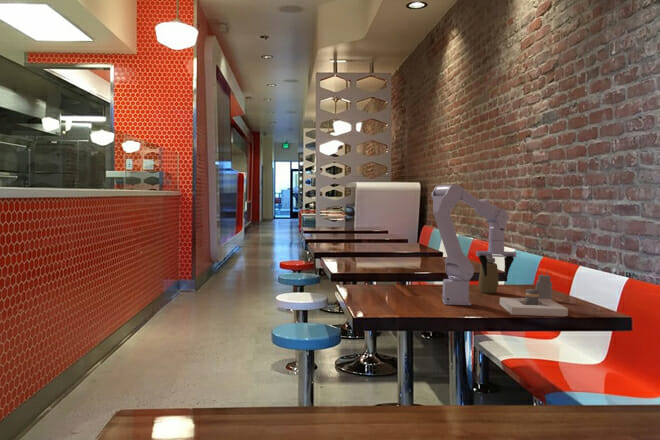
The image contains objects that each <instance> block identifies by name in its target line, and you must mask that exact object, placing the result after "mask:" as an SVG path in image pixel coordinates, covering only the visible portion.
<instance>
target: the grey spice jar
mask: <svg viewBox="0 0 660 440" xmlns="http://www.w3.org/2000/svg"><path fill="white" fill-rule="evenodd" d="M538 297H539V293H538V290H536V289H532V288H531V289H530V288H529V289H528V288H526V289H525V298H526V305H538Z"/></svg>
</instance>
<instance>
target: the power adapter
mask: <svg viewBox="0 0 660 440" xmlns="http://www.w3.org/2000/svg"><path fill="white" fill-rule="evenodd" d="M537 278H538V279H537V281H535V283H536V284H535V286H536V287H535V290H538V293H539V297H538V299H551V300H552V298H553V297H552V296H553V295H552V294H553V282H552V281H551V275H548V271H546V275H545V274H543V272H541V274H538V277H537Z"/></svg>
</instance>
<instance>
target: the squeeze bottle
mask: <svg viewBox="0 0 660 440" xmlns="http://www.w3.org/2000/svg"><path fill="white" fill-rule="evenodd" d="M486 257H487V259H488V260H487V276H484V272H483V268H482V264H481V263H480V268H479V275H478V276H479V277H478V287H479V291H480V292H481V293H482V294H491V295H493V294H496V293H497V290H498V287H499V285H500V284H499V272H498V271H499V270H498V264H497V263H495V262H496V257H489V256H486Z"/></svg>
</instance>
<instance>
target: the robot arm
mask: <svg viewBox="0 0 660 440" xmlns="http://www.w3.org/2000/svg"><path fill="white" fill-rule="evenodd" d="M433 188H434V189H433V190H432V193H431V200H432V201H433V202H432V204H433V205H432V212H433V213H432V214H433V217H434V219H435V222H436V225H437V229H438V232H439V235H440V238H441V241H442V244H443V247H444V250H445V253H446V258H445V259H444V260H443V261H444V265H445V267H444V271H445V273H446V275H447V278H443V279H442V296H441V298H442V299H441V300H442V302H443V304H444V305H451V306H453V305H454V306H472V303H471V302H470V281H471V279H472V278H473V276H474V272H475V268H474V265H473V264H472V262H470V259H469V257H468V256H466V255H465V254H464V253H463V250H462V247H461V244H460V242H459V239H458V238H459V237H458V235H457V232H456V229H455V226H454V222H453V219H452V216H451V212H452V210H453V209H454V207H456V205H458V203H459V202H462V203H464V204H466V205H468V206H470V207H472V208H474V209H473V210H474V212H475V213H476V214H477V215H480V216H481V217H482V218H484V219H485V220H486V221H487V223H488V248H487V250H476V251H475V253H476V254H475V256H476V257H478V259H479V262H480V265H481V264H482V268H483V272H484V276H487V260H488V259H487V257H486V256H489V257H493V258H498V257H499V258H501V257H502V258H503V259H504V260H503V261H504V270H503V273H504V274H503V275H504V277H508V275H509V271H510V268H511V266H512V263H513V262H514V260H515V258H517V252H516V251H505V239H506V238H505V234H506V231H505V229H506V227H507V223H508V221H509V218H510V217H509V214H508V212H507V210H506V209H504V208H499V207H498V205H497V204H492V203H490V202H489V199H486V198H481V199H478V198H477V197H476V196H475V195H473V194H471V193H470V192H468V191H467V190H465V189H464V187H462V186H460V185H459V184H457V183H456V184H455V183H454V184H438V185H436V186H435V187H433Z"/></svg>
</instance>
